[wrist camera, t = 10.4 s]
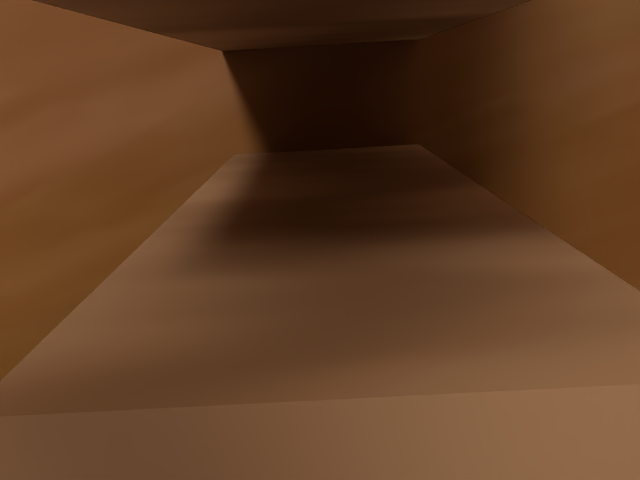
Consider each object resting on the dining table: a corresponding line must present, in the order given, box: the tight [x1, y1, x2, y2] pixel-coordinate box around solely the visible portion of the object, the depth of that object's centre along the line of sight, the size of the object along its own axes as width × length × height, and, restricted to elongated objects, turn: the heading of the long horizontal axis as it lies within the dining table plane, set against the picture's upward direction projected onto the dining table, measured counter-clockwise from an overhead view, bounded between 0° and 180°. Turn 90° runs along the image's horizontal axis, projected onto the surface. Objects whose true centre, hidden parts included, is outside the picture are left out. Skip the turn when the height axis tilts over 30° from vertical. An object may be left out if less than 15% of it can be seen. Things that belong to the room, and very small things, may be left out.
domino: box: [0, 144, 640, 480], centre depth 8 cm, size 5×2×10 cm, turn 93°
